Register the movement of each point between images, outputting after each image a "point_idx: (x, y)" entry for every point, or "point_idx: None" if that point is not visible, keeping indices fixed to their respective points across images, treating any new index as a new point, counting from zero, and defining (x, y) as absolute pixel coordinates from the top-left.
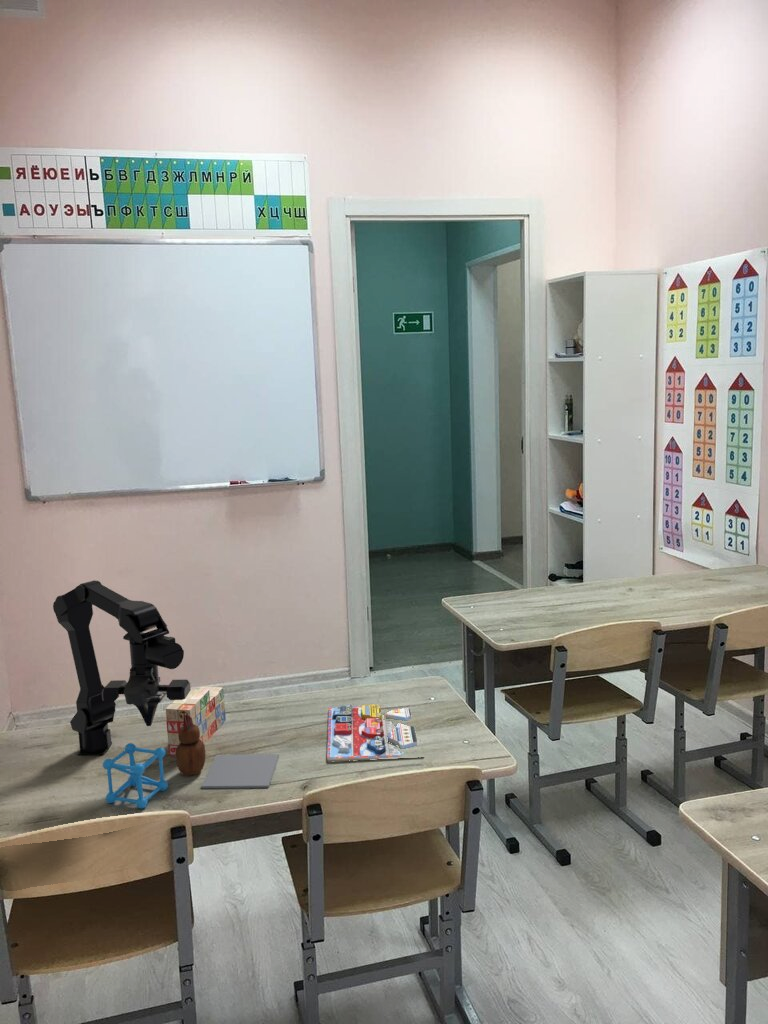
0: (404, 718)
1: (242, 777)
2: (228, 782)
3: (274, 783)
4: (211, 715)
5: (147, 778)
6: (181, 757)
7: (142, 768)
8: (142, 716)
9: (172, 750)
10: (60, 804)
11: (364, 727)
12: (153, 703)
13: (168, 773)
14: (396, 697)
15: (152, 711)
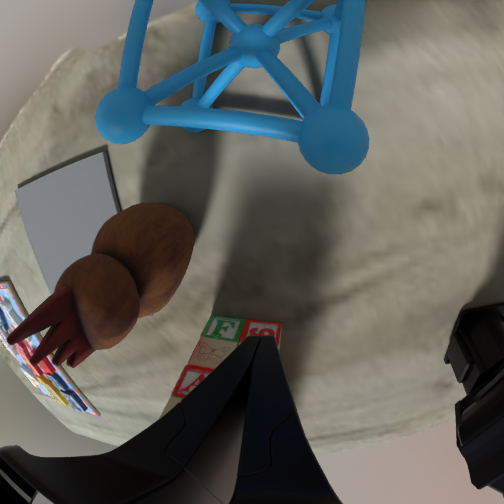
0: (22, 367)
1: (52, 213)
2: (62, 185)
3: (18, 206)
4: None
5: (220, 75)
6: (133, 213)
7: None
8: (286, 391)
9: (268, 332)
10: (473, 35)
11: None
12: (48, 466)
13: (234, 221)
14: (67, 413)
15: (165, 419)
